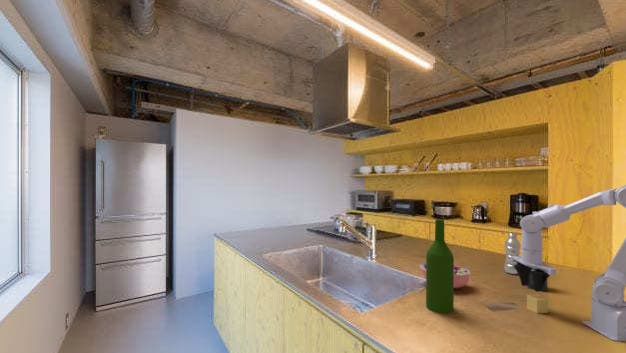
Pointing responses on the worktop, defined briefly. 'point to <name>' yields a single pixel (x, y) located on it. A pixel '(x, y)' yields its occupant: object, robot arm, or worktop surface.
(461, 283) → the cell model
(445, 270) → the wine bottle
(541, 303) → the ochre block
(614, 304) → the robot arm
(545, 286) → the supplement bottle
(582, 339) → the worktop surface
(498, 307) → the walnut base
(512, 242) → the plastic bottle
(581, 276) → the worktop surface
